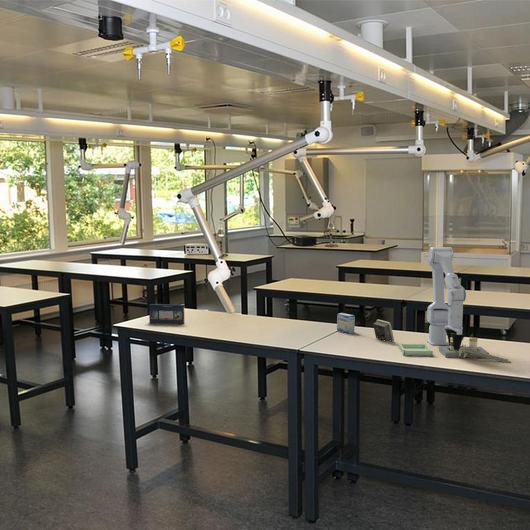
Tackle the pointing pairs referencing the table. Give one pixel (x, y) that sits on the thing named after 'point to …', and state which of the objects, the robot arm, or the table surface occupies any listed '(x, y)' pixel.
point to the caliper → (479, 354)
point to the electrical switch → (383, 330)
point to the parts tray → (415, 349)
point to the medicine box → (345, 322)
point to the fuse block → (447, 353)
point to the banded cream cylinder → (451, 345)
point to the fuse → (473, 343)
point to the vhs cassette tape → (166, 313)
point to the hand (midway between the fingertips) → (454, 347)
